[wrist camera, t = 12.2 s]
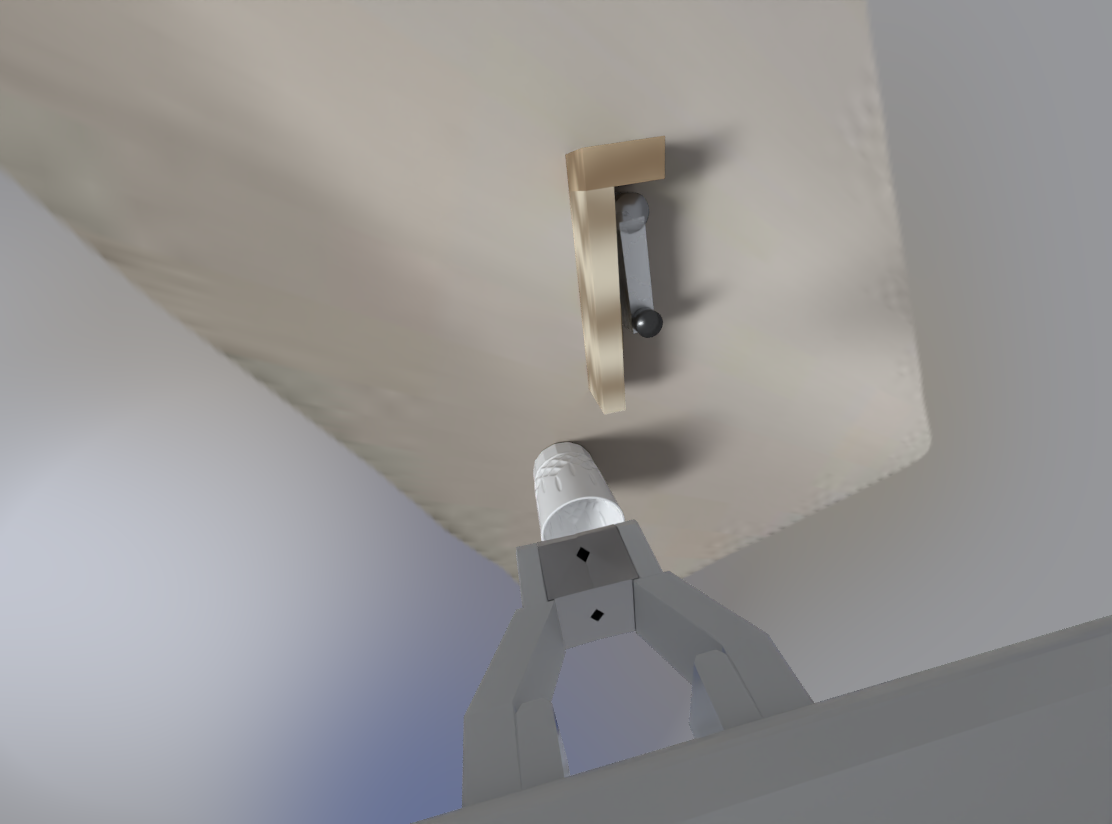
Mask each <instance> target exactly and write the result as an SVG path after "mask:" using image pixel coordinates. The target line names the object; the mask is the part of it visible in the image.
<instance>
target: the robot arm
mask: <svg viewBox="0 0 1112 824" xmlns="http://www.w3.org/2000/svg"><path fill="white" fill-rule="evenodd" d="M537 545H538V546H537ZM516 557H517V566H518V574H519V582H520V590H521V598H522V607H523V608H520V609H517V610H516V612H515V614H514V616H513V618H512V620H511V622H510V624H509V626H508V628H507V630H506V632H505V634H504V636H503V638H502V640H501V642H500V644H499V646H498V649H497V650H496V652H495V654H494V656H493V658H492V660H491V662H490V665H489V667H488V669H487V671H486V673H485V675H484V677H483V679H482V681H481V683H480V685H479V687H478V689H477V691H476V693H475V695H474V697H473V699H472V701H471V703H470V705H469V707H468V709H467V711H466V713H465V715H464V735H463V736H464V737H463V784H462V786H463V787H462V808H461V809H458V810H454V811H451V812H447V813H444V814H441V815H437V816H434V817H431V818H427V819H424V820H421V821H417V822H414V823H410V824H1112V615H1110V616H1106V617H1103V618H1100V619H1096V620H1093V621H1089V622H1086V623H1083V624H1079V625H1076V626H1073V627H1069V628H1066V629H1062V630H1059V631H1056V632H1052V633H1049V634H1046V635H1042V636H1039V637H1036V638H1032V639H1029V640H1026V641H1022V642H1019V643H1015V644H1012V645H1009V646H1005V647H1002V648H999V649H995V650H992V651H988V652H985V653H982V654H978V655H975V656H972V657H968V658H965V659H962V660H958V661H955V662H951V663H948V664H945V665H941V666H938V667H935V668H931V669H928V670H925V671H921V672H918V673H914V674H911V675H908V676H904V677H901V678H898V679H894V680H891V681H888V682H884V683H881V684H877V685H874V686H871V687H867V688H864V689H861V690H857V691H854V692H851V693H847V694H844V695H841V696H837V697H834V698H830V699H827V700H824V701H820V702H817V703H814V702H813V700H812V699H811V697H810V696H809V694H808V693H807V691H806V690H805V689H804V687H803V686H802V684H801V683H800V681H799V680H798V678H797V677H796V675H795V674H794V672H793V671H792V669H791V668H790V666H789V665H788V663H787V662H786V660H785V659H784V657H783V656H782V654H781V653H780V651H779V650H778V648H777V647H776V645H775V644H774V643H773V641H772V639H771V638H770V636H769V635H768V634H767V633H766V632H764V631H763V630H761V629H759V628H758V627H756V626H755V625H753V624H752V623H750V622H748V621H747V620H745V619H744V618H742V617H741V616H739V615H737V614H736V613H734V612H733V611H731V610H730V609H728V608H726V607H725V606H723V605H722V604H720V603H718V602H717V601H716V600H714V599H712V598H711V597H709V596H708V595H706V594H705V593H703V592H701V591H700V590H698V589H697V588H695V587H694V586H692V585H690V584H689V583H687V582H686V581H684V580H683V579H681V578H680V577H678V576H676V575H675V574H673V573H672V572H670V571H667V572H663V571H662V569H661V567H660V565H659V563H658V561H657V559H656V557H655V555H654V553H653V551H652V550H651V548H650V546H649V544H648V542H647V540H646V538H645V536H644V534H643V532H642V530H641V528H640V526H639V524H638V522H637V521H636V520H635V519H633V520H629V521H625V522H621V523H617V524H615V525H614V524H612V525H608V526H604V527H600V528H596V529H592V530H588V531H584V532H580V533H576V534H574V535H569V536H565V537H560V538H555V539H550V540H546V541H541V542H537V543H533V544H528V545H524V546H519V547H516ZM633 631H636V633H637V634H638V635H639V636H640V637H641V638H642V639H643V640H644V641H645V642H646V643H647V644H648V645H650V646H651V647H652V648H653V649H654V650H655V651H656V652H657V653H658V654H659V655H660V656H661V657H662V658H663V659H664V660H666V661H667V662H668V663H669V664H670V665H671V666H672V667H673V668H674V669H675V670H676V671H677V672H678V673H679V674H680V675H681V676H682V677H684V678H685V679H686V680H687V681H688V682H689V683H690V684H691V685H692V694H691V705H690V717H689V726H690V728H691V731H692V733H693V736H694V738H695V739H693V740H689V741H686V742H682V743H679V744H676V745H673V746H669V747H666V748H662V749H659V750H656V751H652V752H649V753H645V754H643V755H639V756H635V757H632V758H629V759H625V760H622V761H619V762H615V763H612V764H608V765H605V766H602V767H599V768H595V769H592V770H588V771H585V772H582V773H578V774H575V775H571V776H570V772H569V766H568V761H567V757H566V753H565V749H564V746H563V742H562V738H561V735H560V731H559V727H558V723H557V720H556V716H555V712H554V709H553V705H552V703H551V701H552V697H553V694H554V691H555V687H556V683H557V680H558V677H559V674H560V670H561V667H562V663H563V660H564V657H565V653H566V651H565V650H566V649H569V648H573V647H576V646H579V645H583V644H586V643H589V642H593V641H596V640H599V639H603V638H608V637H612V636H616V635H620V634H624V633H629V632H633Z"/></svg>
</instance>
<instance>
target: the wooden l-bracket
mask: <svg viewBox="0 0 1112 824" xmlns="http://www.w3.org/2000/svg"><path fill="white" fill-rule="evenodd" d="M565 156H566V165H567V175H568V185H569V195H570V205H571V215H572V224H573V234H574V244H575V254H576V264H577V273H578V283H579V293H580V303H581V313H582V323H583V332H584V342H585V352H586V362H587V372H588V381H589V390H590V391H591V393H592V394H593V396H594V398H595V399H596V401H597V403H598V404H599V406H600V408H601V409H602V411H603V413H604V414H605V415H606V414H610V413H615V412H620V411H624V410H626V406H625V387H624V368H623V331H622V312H621V304H620V291H619V272H618V253H617V233H616V214H615V195H614V187H615V186H621V185H627V184H634V183H640V182H646V181H653V180H659V179H665V136H660V137H653V138H646V139H639V140H632V141H626V142H619V143H612V144H605V145H598V146H591V147H585V148H581V149H578V150H576V151H573V152H571V153H569V154H566V155H565Z"/></svg>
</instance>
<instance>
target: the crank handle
mask: <svg viewBox="0 0 1112 824" xmlns="http://www.w3.org/2000/svg"><path fill="white" fill-rule="evenodd" d="M614 195H615V214H616V233H617V253H618V272H619V291H620V304H621V312H622V324H623V325H624V326H625V327H626V328H628V329H629V330H630V331H631V332H632V333H633V334H635V333H639V334H640V335H641V336H643V337H646V338H650V337H653V336H655V335H656V334H658V333H659V331H660V330H661V328H662V325H663V320H662V317H661V315H660V314H659V313H657V312H655V311H654V308H653V298H652V288H651V278H650V268H649V258H648V248H647V238H646V228H645V224H646V222H647V219H648V215H649V207H648V203H647V201H646V199H645V198H644V197H643V196H642V195H640V194H638V193H634V192H632V193H614Z"/></svg>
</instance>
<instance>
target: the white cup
mask: <svg viewBox="0 0 1112 824" xmlns="http://www.w3.org/2000/svg"><path fill="white" fill-rule="evenodd" d="M533 476H534V482H535V495H536V505H537V511H538V518H539V525H540V532H541V539H542V541H546V540H550V539H555V538H560V537H565V536H569V535H574V534H576V533H580V532H584V531H588V530H592V529H596V528H600V527H604V526H608V525H612V524H614V525H615V524H617V523H621V522H625V519H624V514H623V512H622V510H621V508H620V506H619V505H618V503H617V501H616V499H615V497H614V495H613V494H612V492H611V490H610V488H609V486H608V484H607V482H606V481H605V479H604V477H603V476H602V474H601V472H600V470H599V469H598V467H597V466H596V465H595V463H594V462H593V460H592V458H591V456H590V454H589V452H587V451H586V450H585V449H584V448H583V447H582V446H581V445H578V444H574V443H571V442H563V443H557V444H553V445H552V446H550V447H548V448H546V449H545V450H543V451H542V452H541V453H540V455H539V456H538V457H537V459H536V460H535V463H534V469H533Z"/></svg>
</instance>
